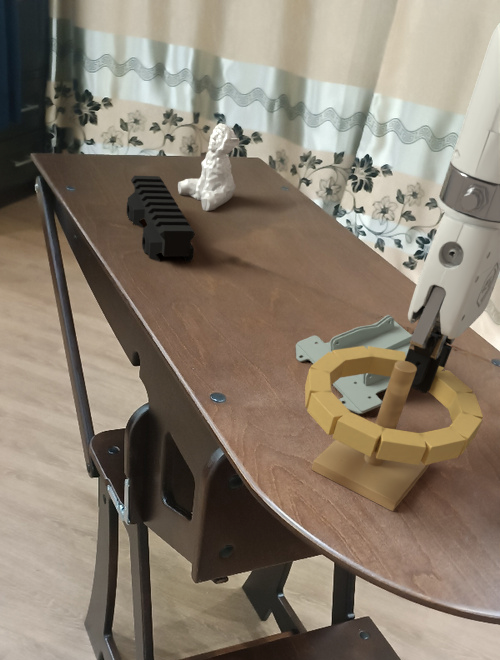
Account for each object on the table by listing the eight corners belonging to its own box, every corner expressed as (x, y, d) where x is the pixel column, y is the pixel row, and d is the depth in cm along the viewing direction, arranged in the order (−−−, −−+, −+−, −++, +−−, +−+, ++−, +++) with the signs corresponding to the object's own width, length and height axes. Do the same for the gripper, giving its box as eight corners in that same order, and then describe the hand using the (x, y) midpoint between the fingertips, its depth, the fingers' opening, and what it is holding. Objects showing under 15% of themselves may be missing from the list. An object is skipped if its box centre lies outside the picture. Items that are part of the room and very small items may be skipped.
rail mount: (122, 207, 115) (124, 175, 112) (162, 208, 117) (164, 176, 114) (150, 265, 100) (152, 230, 97) (195, 265, 102) (198, 231, 99)
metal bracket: (387, 294, 89) (463, 357, 79) (386, 333, 93) (457, 397, 84) (286, 335, 86) (351, 404, 77) (289, 373, 91) (351, 443, 81)
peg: (428, 467, 73) (469, 367, 65) (392, 511, 67) (433, 407, 59) (351, 430, 77) (382, 330, 69) (311, 469, 71) (339, 365, 63)
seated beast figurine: (174, 192, 123) (180, 116, 115) (214, 186, 127) (222, 113, 119) (205, 212, 118) (214, 134, 110) (246, 206, 122) (257, 130, 114)
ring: (495, 409, 70) (503, 392, 68) (435, 489, 59) (444, 471, 58) (351, 346, 75) (356, 330, 74) (273, 409, 65) (277, 391, 63)
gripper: (501, 233, 53) (422, 431, 65) (555, 188, 63) (479, 366, 76) (409, 201, 56) (350, 397, 68) (476, 163, 66) (414, 339, 78)
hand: (418, 380), depth 72 cm, fingers closed on ring, 2 cm apart
